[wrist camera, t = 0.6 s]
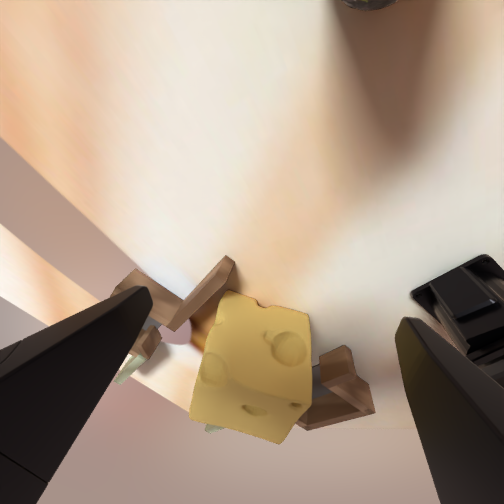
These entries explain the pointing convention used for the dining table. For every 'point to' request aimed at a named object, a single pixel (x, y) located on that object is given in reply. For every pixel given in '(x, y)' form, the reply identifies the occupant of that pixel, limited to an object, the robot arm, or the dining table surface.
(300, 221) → the dining table surface
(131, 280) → the wooden frame
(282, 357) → the cheese
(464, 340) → the robot arm
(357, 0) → the pill bottle
